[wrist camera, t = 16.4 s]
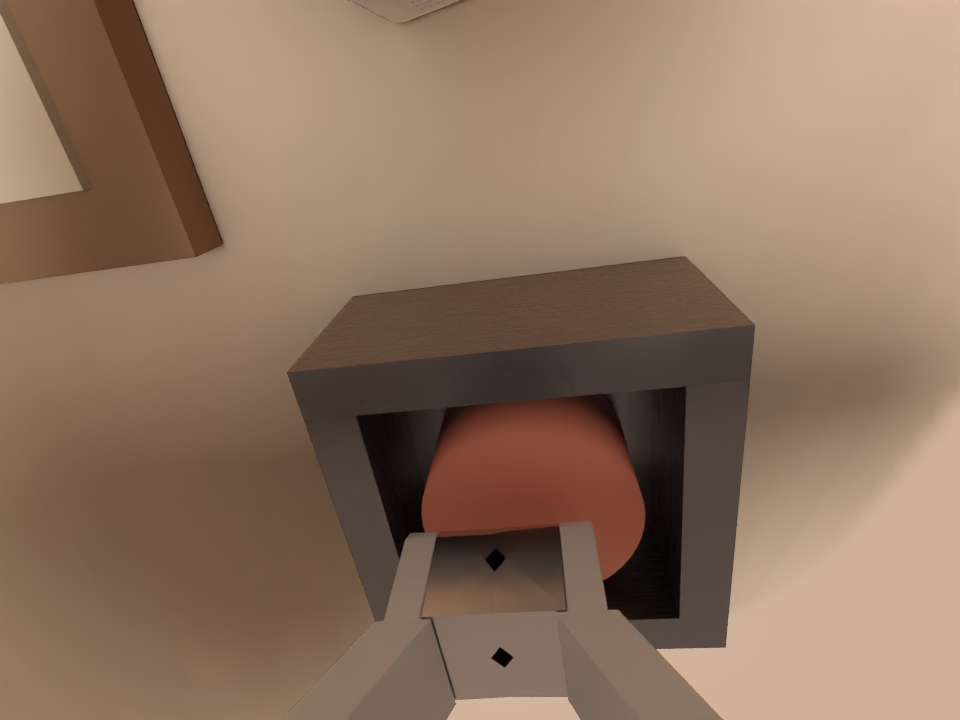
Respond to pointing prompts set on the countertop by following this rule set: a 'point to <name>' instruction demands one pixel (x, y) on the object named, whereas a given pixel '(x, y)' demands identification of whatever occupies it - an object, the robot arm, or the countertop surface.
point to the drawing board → (89, 146)
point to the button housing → (542, 375)
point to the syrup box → (402, 8)
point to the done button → (537, 472)
